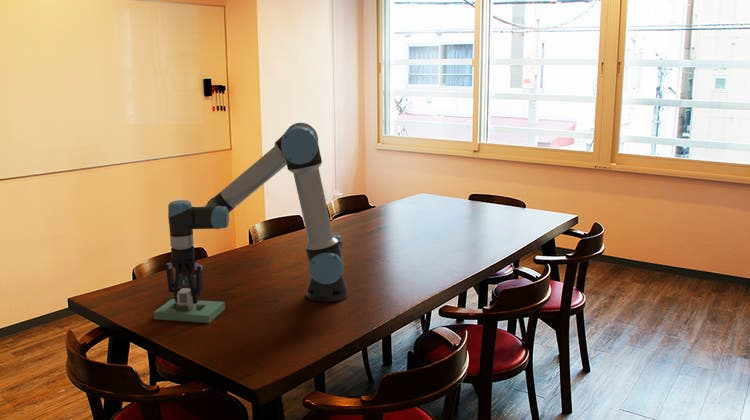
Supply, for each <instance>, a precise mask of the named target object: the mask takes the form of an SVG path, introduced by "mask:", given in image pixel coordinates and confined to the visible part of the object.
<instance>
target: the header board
mask: <svg viewBox="0 0 750 420" xmlns="http://www.w3.org/2000/svg"><path fill="white" fill-rule="evenodd" d="M225 309H226V301H212V300H199V299H198V302H197V303H196V310H188V306H180V305H178V304H177V303H176V302H175V298H171V299H169V300H168V301H166V302H165V303H164V304H163V305H161V306H159V307H158V308H157V309H156V310H155V311H153V319H154V320H163V321H164V320H165V321H173V322H174V321H177V322H178V321H179V322H191V323H203V324H205V323H206V324H210V323H211V322H212V321H213V320H214V319H216V317H218V316H219V315H220V314H221V313H222V312H224V310H225Z"/></svg>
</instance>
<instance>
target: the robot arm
mask: <svg viewBox="0 0 750 420" xmlns="http://www.w3.org/2000/svg"><path fill="white" fill-rule="evenodd" d="M321 156H322V155H321V151H320V146H319V136H318V133H317V130H315V128H314V127H313V126H312V125H310V124H309V123H305V122H297V123H293V124H292V125H290V126H289V127H288V128H287V129H286V131H285V132H284V133H283V134H282V135H281V136H280V137H279V138H278V139H276V141H275V142H274V146H273V147H272V148H271V149H269V151H266V153H265V154H263V156H262V157H260V158H259V159H258V160H257V161H256V162H254V163H253V164H252V165H251V166H249V168H247V169H246V170H244V171H243V172H242V173H241V174H239V176H237V177H236V178H235V179H233V181H232V182H230V183H229V184H228V185H227V186H225V187H224V188H223V189H222V190H221V191H220V192H218V193H217V194H216V195H215V196H214V197H211V198H210V199H209V200H208V201H207V203H206V205H204V206H192V204H191V203H192V202H191V201H190V200H187V199H186V200H185V199H182V200H181V199H180V200H179V199H178V200H172V201H171V202H169V203H168V206H167V207H168V208H167V211H168V214H167V218H168V225H169V227H168V228H169V238H170V239H169V240H170V247H171V248H170V252H171V253H170V254H171V258H172V259H171V261H170V262H167V263H166V264H164V266H163V267H164V269H165V272H166V279H167V285H168V292H169V293H173V295H174V299H175V302H176V303H177V304H178V305H179V303H178V291H180V290H181V289H182V288H181V281H182V274H183V273H185V274H186V277H187V279H188V282H189V286H190V290H191V295H190V307H191V310H196V303H197V302H198V300H199V299H198V296H199V295H200V294H201V293H202V292H203V290H204V289H203V287H204V286H203V269H204V264H203V263H201V264H199V263H197V262H196V260H195V246H194V244H195V242H194V230H219V229H226V228H228V227H229V223H230V213H231V212H232V211H233V210H234V209H235V208H237V206H239V205H240V204H241V203H242V202H244V201H245V200H246V199H247V198H249V197H250V196H251V195H252V194H253V193H255V192H256V191H257V190H258V189H259V188H260V187H262V186H263V185H264V184H265V183H267V182H268V181H269V180H270V179H272V178H273V177H274V176H275V175H276V174H277V173H278V172H280V171H281V170H283V168H285V167H286V168H287V171H289V172H291V173H292V174H293V178H294V182H295V188H296V191H297V195H298V200H299V205H300V209H301V214H302V219H303V223H304V227H305V232H306V236H307V240H308V241H307V243H306V244H305V245H304V247H305V252H306V256H307V257H306V258H307V261H308V272H309V275H310V277H309V278H310V279H309V282H308V286H307V288H306V298H307V299H309V300H310V301H313V302H318V303H334V302H339V301H343V300H345V299H346V298H348V296H349V289H348V285H347V282H346V280H345V278H344V275H343V274H344V270H345V263H344V257H343V238H342V236H341V235H340V234H336V233H333V230H332V225H331V220H330V215H329V209H328V207H327V201H326V196H325V191H324V186H323V183H322V177H321V172H320V167H321V166H322V163H323V160H322V157H321ZM194 267H195V270H196V282H195V278H194V275H193V274H194V272H193V268H194ZM174 270H175V272H174ZM174 273H175V274H174ZM174 275H175V276H174ZM199 293H200V294H199ZM198 294H199V295H198Z"/></svg>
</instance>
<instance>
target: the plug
mask: <svg viewBox="0 0 750 420" xmlns="http://www.w3.org/2000/svg"><path fill="white" fill-rule="evenodd" d="M190 295H191V290H190V289H188V288H183V289H182V288H181V289H180V291H178V303H179V305H180V306H188V310H191V307H190Z"/></svg>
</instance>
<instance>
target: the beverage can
mask: <svg viewBox="0 0 750 420" xmlns="http://www.w3.org/2000/svg"><path fill="white" fill-rule="evenodd" d="M193 272H194V274H193V275H194V278H195V282H196V270H195V267H194V268H193ZM183 288H188V289H190V286H189V282H188V279H187V277H186V274H185V273H183V274H182V281H181V289H183ZM200 294H201V293H199V294H198V296H199V295H200Z"/></svg>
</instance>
